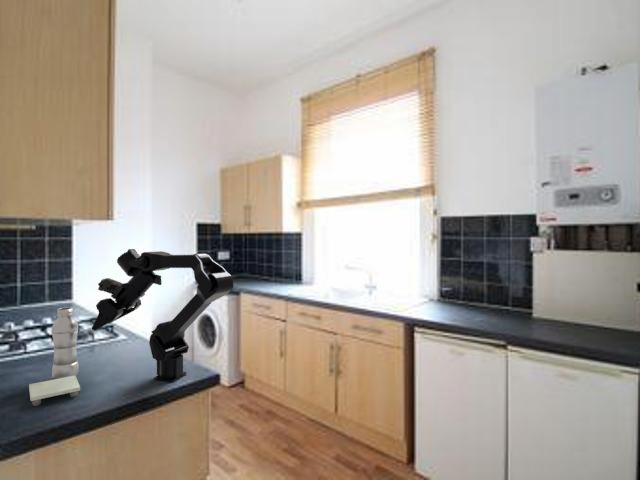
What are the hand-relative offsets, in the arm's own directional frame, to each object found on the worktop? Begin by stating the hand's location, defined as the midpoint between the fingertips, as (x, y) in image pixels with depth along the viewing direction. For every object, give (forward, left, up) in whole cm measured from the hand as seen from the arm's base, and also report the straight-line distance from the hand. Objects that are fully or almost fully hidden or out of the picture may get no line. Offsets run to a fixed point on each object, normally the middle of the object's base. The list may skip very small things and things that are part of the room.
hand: (100, 325), depth 112 cm
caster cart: (-2, +16, -14) cm, 21 cm away
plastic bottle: (+5, +7, -14) cm, 16 cm away
